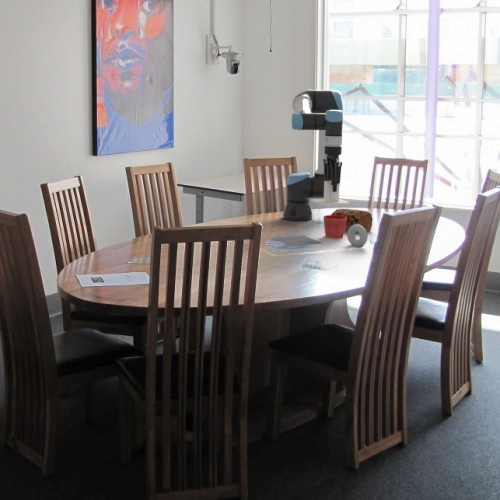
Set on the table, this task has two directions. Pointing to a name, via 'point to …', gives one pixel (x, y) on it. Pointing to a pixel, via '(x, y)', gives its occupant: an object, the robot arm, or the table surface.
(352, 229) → the donut
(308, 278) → the table surface
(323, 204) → the lid
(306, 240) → the mat
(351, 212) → the bread
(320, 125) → the robot arm
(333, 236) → the flower pot
